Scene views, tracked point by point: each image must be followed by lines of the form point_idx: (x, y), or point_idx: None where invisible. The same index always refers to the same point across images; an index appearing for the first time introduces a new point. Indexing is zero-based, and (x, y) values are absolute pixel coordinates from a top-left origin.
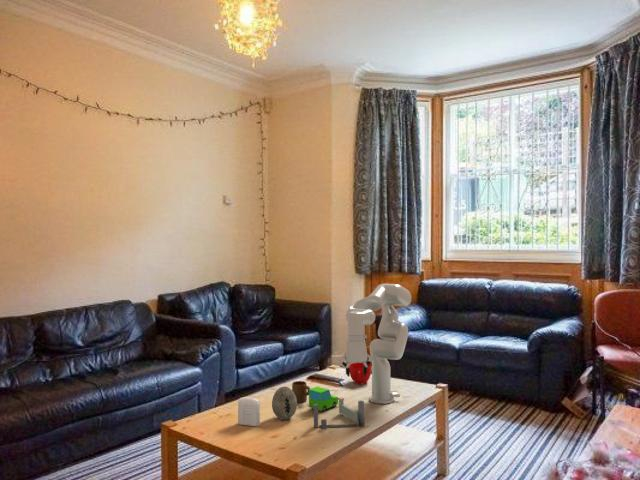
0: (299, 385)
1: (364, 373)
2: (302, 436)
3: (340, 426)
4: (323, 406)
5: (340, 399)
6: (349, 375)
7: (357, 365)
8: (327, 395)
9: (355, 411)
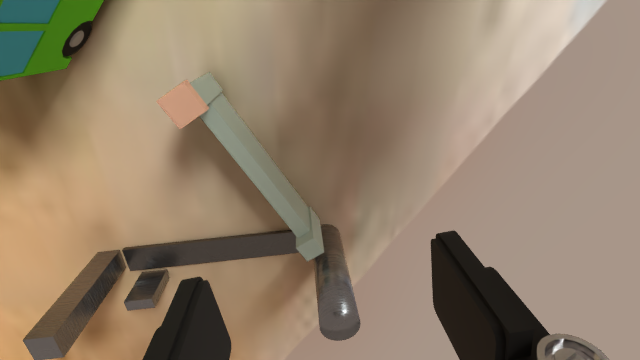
0: None
1: (449, 332)
2: (86, 342)
3: (228, 258)
4: (62, 45)
5: (181, 127)
6: (228, 356)
7: None
8: (34, 5)
9: (299, 249)
